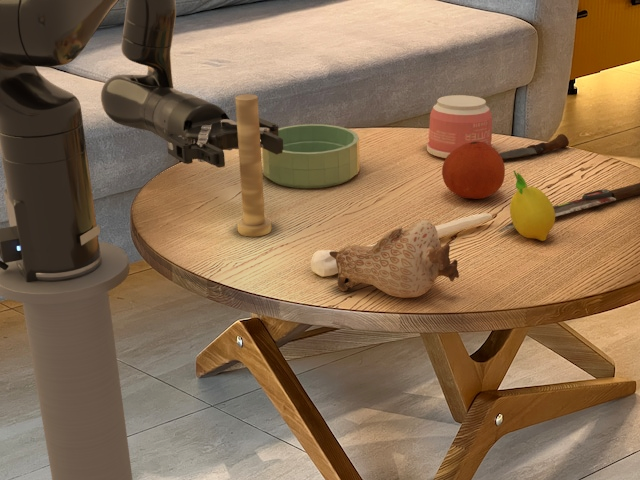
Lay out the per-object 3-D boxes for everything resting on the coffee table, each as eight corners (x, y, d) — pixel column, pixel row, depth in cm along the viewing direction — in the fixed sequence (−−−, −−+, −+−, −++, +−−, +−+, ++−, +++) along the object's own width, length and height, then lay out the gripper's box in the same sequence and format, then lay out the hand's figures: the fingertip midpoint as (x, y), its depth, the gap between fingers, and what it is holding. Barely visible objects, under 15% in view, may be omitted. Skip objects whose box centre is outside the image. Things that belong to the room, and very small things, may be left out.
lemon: (547, 235, 136) (516, 162, 137) (512, 252, 140) (483, 181, 141) (575, 228, 141) (545, 157, 142) (541, 245, 145) (512, 176, 146)
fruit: (450, 183, 161) (451, 130, 157) (509, 189, 158) (511, 135, 155) (433, 203, 153) (434, 148, 150) (495, 210, 151) (498, 154, 147)
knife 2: (497, 239, 142) (659, 192, 157) (496, 226, 141) (660, 179, 156) (483, 234, 144) (645, 188, 159) (483, 221, 143) (645, 175, 158)
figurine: (456, 317, 125) (341, 306, 132) (475, 243, 129) (362, 236, 135) (430, 282, 118) (310, 272, 124) (451, 204, 121) (332, 199, 128)
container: (418, 104, 168) (417, 155, 171) (484, 111, 164) (482, 162, 168) (440, 90, 177) (438, 139, 180) (502, 96, 174) (500, 145, 177)
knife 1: (563, 132, 176) (578, 138, 172) (563, 145, 177) (578, 151, 173) (468, 146, 171) (481, 153, 167) (469, 160, 172) (481, 167, 168)
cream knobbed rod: (475, 215, 148) (475, 195, 147) (496, 222, 145) (496, 202, 144) (304, 271, 133) (302, 249, 132) (323, 280, 130) (321, 258, 129)
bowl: (286, 196, 156) (284, 159, 154) (249, 167, 167) (246, 132, 165) (375, 179, 162) (375, 144, 160) (333, 152, 174) (333, 119, 171)
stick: (245, 239, 142) (236, 103, 134) (233, 227, 145) (223, 95, 137) (276, 232, 144) (269, 98, 136) (263, 222, 147) (256, 90, 139)
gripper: (140, 106, 145) (199, 135, 134) (234, 88, 153) (297, 114, 142) (146, 160, 149) (204, 192, 137) (237, 140, 156) (300, 169, 145)
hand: (251, 153), depth 139 cm, fingers open, 8 cm apart
